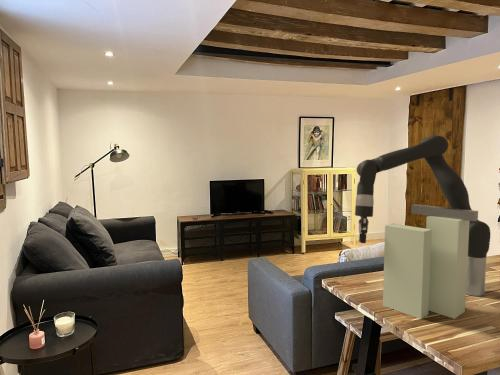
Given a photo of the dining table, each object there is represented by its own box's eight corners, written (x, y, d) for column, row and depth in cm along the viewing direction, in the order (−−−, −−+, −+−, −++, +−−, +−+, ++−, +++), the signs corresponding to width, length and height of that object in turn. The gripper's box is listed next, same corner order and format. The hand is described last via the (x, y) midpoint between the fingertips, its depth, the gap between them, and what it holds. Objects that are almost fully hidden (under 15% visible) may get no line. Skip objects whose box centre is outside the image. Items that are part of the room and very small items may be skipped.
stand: (434, 302, 156) (438, 213, 152) (465, 311, 147) (469, 217, 143) (423, 308, 150) (426, 216, 146) (454, 318, 141) (458, 220, 137)
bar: (415, 212, 157) (415, 204, 156) (477, 220, 138) (478, 210, 138) (411, 213, 154) (411, 205, 154) (474, 221, 136) (474, 211, 136)
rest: (390, 302, 157) (392, 223, 153) (428, 314, 144) (431, 229, 141) (382, 305, 153) (385, 225, 150) (420, 319, 140) (424, 231, 137)
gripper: (375, 205, 153) (373, 244, 152) (371, 207, 167) (369, 243, 165) (356, 203, 155) (354, 242, 153) (354, 205, 169) (352, 241, 167)
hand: (362, 242), depth 159 cm, fingers open, 8 cm apart
